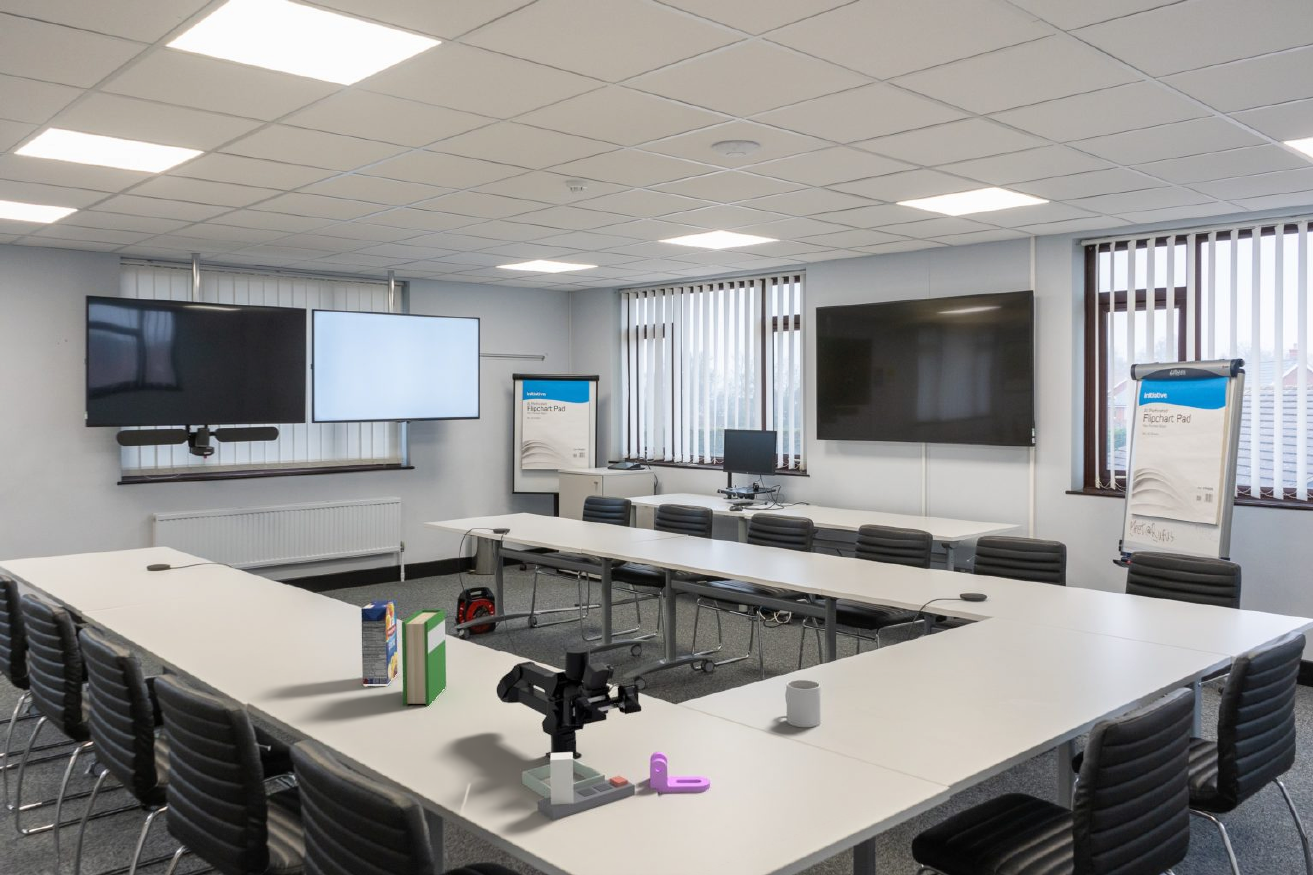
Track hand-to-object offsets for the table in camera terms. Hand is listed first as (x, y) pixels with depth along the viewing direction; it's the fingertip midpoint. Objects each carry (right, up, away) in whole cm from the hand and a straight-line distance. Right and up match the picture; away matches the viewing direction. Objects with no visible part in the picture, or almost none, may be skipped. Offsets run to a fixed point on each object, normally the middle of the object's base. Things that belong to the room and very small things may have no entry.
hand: (623, 713), depth 199 cm
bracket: (+12, -17, +1) cm, 21 cm away
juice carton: (-79, -17, +87) cm, 119 cm away
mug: (+46, -16, +44) cm, 66 cm away
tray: (-13, -17, +1) cm, 21 cm away
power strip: (-7, -17, -9) cm, 20 cm away
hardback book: (-61, -17, +70) cm, 94 cm away
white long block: (-12, -16, -12) cm, 23 cm away
